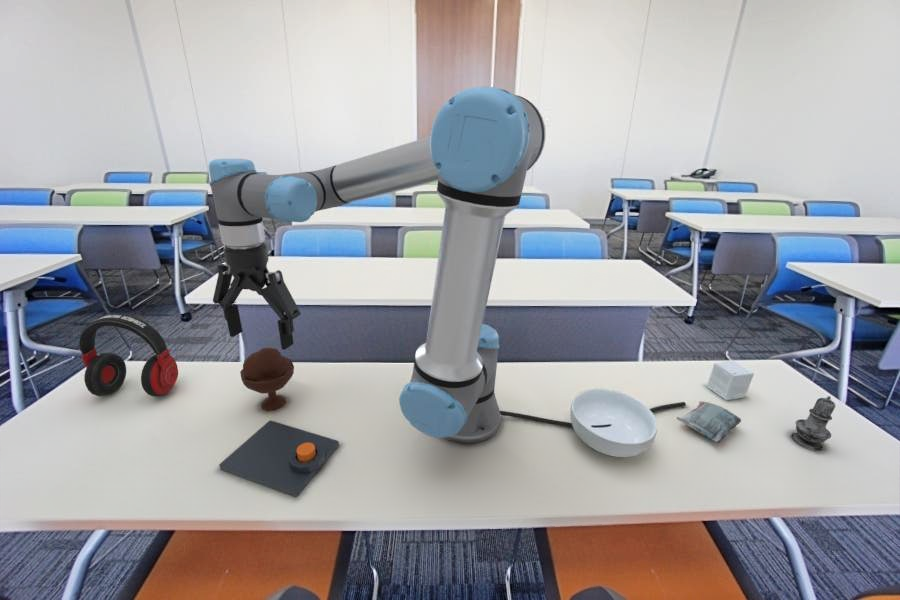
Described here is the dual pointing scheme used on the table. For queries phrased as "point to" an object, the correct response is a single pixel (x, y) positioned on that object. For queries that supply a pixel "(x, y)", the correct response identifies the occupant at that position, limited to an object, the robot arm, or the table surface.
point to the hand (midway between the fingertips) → (261, 340)
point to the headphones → (111, 369)
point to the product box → (730, 380)
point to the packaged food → (710, 420)
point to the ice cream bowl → (267, 375)
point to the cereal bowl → (613, 422)
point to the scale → (279, 458)
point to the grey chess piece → (815, 425)
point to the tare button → (306, 452)
